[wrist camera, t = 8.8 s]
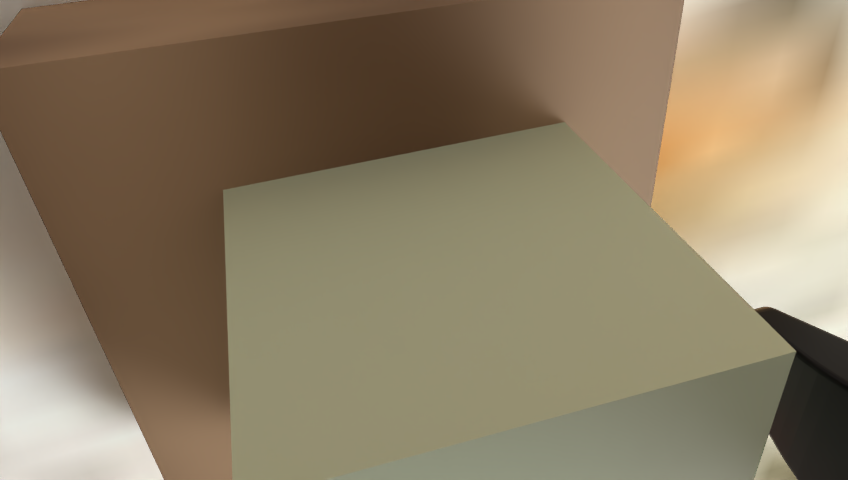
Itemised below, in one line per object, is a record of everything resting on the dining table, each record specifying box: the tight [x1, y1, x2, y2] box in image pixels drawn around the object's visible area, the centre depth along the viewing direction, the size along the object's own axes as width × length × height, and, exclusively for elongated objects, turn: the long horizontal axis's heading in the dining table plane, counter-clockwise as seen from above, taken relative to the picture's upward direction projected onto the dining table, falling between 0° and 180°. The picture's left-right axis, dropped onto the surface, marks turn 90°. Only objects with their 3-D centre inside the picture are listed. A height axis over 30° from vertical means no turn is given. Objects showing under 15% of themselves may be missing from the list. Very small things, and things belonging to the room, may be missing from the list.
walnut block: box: [0, 0, 684, 480], centre depth 12 cm, size 9×9×3 cm
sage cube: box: [223, 122, 796, 480], centre depth 9 cm, size 5×5×5 cm
